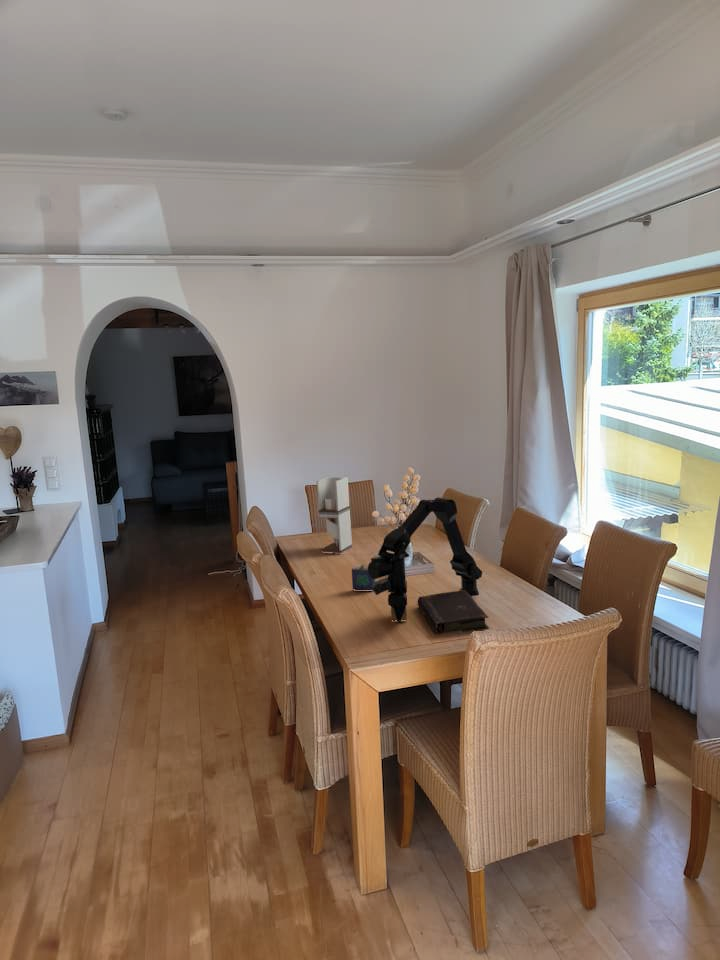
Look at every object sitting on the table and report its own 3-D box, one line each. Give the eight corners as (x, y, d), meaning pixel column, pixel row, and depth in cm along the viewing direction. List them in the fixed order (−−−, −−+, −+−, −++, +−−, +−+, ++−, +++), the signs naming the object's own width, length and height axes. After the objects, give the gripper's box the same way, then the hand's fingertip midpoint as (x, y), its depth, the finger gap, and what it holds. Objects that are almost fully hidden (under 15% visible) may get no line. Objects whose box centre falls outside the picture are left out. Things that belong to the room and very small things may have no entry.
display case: (333, 546, 313) (328, 477, 307) (352, 548, 308) (347, 477, 303) (321, 553, 303) (316, 481, 297) (341, 554, 298) (336, 481, 293)
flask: (376, 589, 248) (374, 563, 246) (375, 592, 245) (373, 565, 243) (353, 589, 250) (351, 563, 248) (351, 591, 247) (350, 565, 245)
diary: (435, 637, 202) (434, 622, 201) (417, 609, 226) (416, 596, 226) (491, 629, 204) (491, 615, 203) (468, 603, 229) (467, 589, 228)
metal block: (392, 616, 219) (391, 600, 218) (406, 616, 219) (405, 599, 218) (391, 622, 214) (390, 605, 213) (406, 621, 214) (405, 604, 213)
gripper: (374, 564, 224) (376, 606, 226) (371, 581, 205) (374, 627, 208) (405, 563, 223) (408, 605, 225) (405, 580, 205) (408, 626, 207)
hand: (399, 615), depth 217 cm, fingers open, 9 cm apart
